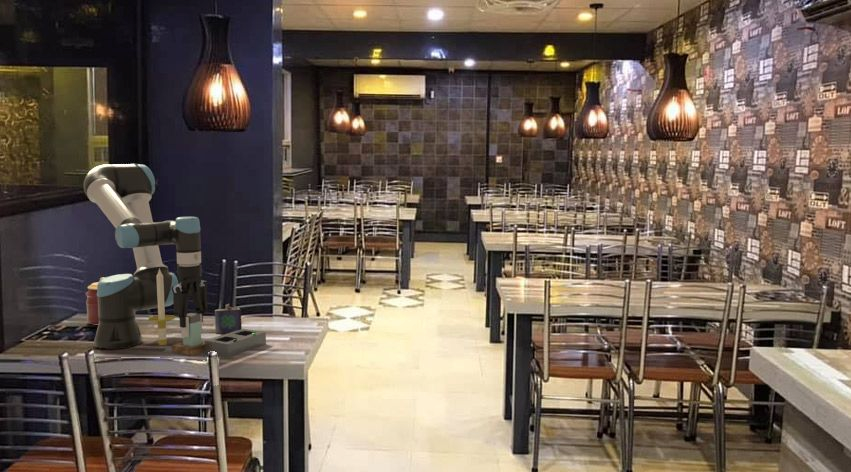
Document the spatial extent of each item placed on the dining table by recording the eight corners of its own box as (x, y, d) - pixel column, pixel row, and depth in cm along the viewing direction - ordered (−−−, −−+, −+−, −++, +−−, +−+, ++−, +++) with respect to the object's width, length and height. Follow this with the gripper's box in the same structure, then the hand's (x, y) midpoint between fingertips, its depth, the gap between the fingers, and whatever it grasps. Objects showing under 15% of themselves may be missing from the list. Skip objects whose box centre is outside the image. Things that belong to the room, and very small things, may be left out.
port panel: (205, 355, 240) (204, 339, 239) (243, 342, 256) (243, 327, 255) (228, 359, 235) (227, 343, 234) (266, 346, 251) (265, 330, 250)
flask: (215, 335, 266) (214, 305, 265) (215, 333, 269) (214, 304, 268) (241, 333, 269) (241, 304, 267) (241, 331, 271) (240, 302, 270)
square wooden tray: (172, 354, 241) (171, 345, 241) (193, 347, 249) (192, 339, 249) (192, 357, 237) (191, 348, 237) (212, 351, 245) (212, 342, 245)
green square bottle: (183, 351, 242) (182, 315, 241) (192, 348, 246) (191, 312, 244) (192, 352, 240) (191, 316, 239) (201, 349, 244) (200, 313, 242)
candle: (155, 342, 257) (152, 265, 254) (183, 342, 256) (180, 265, 252) (141, 349, 247) (137, 270, 244) (170, 350, 246) (167, 270, 243)
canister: (86, 327, 278) (83, 281, 276) (88, 320, 290) (85, 275, 288) (123, 324, 282) (121, 278, 280) (123, 317, 294) (121, 273, 292)
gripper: (176, 269, 230) (179, 342, 233) (218, 261, 246) (220, 330, 248) (159, 267, 234) (162, 339, 236) (201, 260, 249) (203, 327, 252)
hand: (192, 334), depth 242 cm, fingers open, 5 cm apart
